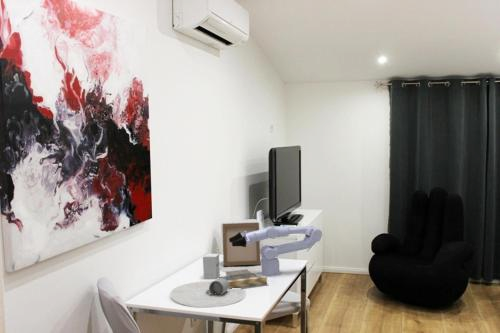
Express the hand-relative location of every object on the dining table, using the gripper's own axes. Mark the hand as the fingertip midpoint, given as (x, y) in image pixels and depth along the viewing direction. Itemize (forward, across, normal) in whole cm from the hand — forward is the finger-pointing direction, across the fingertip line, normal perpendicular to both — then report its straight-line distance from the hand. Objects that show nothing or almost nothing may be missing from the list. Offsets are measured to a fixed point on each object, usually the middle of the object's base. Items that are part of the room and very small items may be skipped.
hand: (230, 242), depth 257 cm
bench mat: (-1, +10, +19) cm, 22 cm away
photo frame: (-8, -28, +24) cm, 38 cm away
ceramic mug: (+15, +25, +16) cm, 33 cm away
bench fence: (-1, +18, +18) cm, 25 cm away
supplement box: (+13, -4, +18) cm, 23 cm away
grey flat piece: (0, +3, +19) cm, 20 cm away
